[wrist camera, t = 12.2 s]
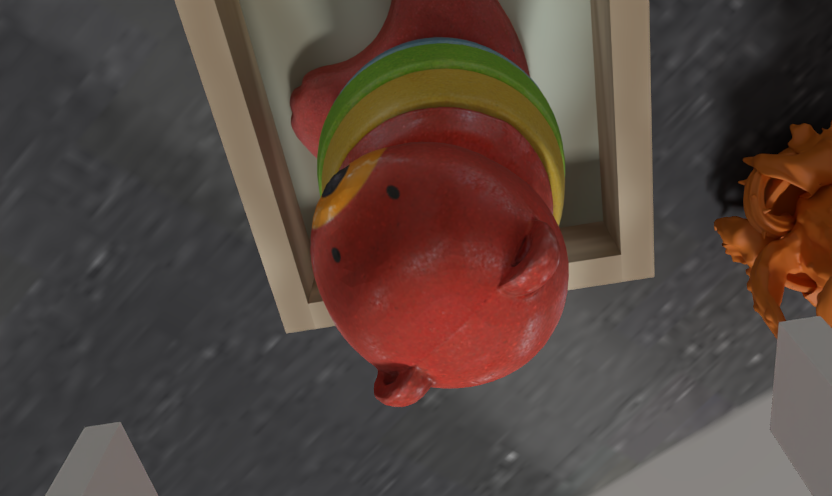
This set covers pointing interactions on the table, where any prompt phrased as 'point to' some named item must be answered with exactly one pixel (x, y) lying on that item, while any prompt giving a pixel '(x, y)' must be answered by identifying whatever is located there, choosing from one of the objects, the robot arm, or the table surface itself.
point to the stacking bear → (436, 199)
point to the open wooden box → (349, 35)
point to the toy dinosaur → (786, 225)
